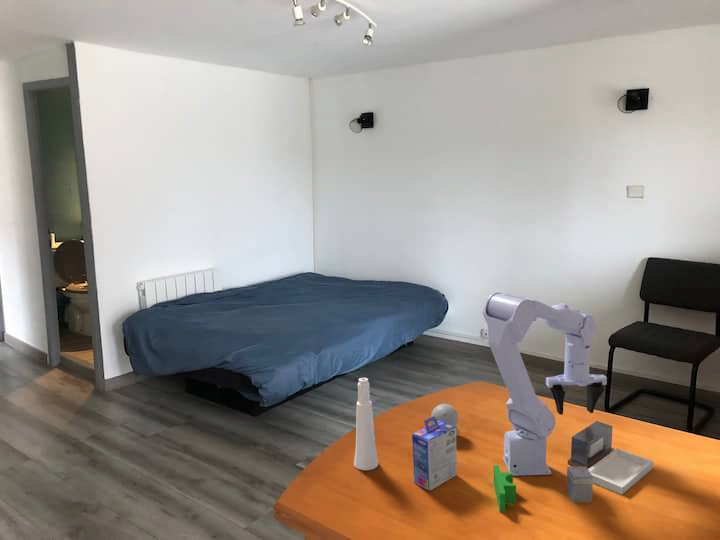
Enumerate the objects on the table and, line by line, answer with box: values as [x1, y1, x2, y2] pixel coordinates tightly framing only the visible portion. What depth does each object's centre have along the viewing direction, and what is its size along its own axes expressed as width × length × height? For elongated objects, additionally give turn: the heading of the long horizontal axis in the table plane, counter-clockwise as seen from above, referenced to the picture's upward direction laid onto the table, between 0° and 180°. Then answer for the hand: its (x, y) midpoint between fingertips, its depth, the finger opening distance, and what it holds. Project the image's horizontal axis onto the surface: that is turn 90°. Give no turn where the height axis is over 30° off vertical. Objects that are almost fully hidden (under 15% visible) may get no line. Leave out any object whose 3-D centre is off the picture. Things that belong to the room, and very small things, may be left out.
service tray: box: [588, 447, 654, 496], centre depth 129 cm, size 16×9×2 cm, turn 130°
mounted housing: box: [567, 420, 615, 469], centre depth 136 cm, size 13×5×7 cm, turn 130°
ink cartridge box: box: [411, 416, 458, 492], centre depth 129 cm, size 10×6×14 cm, turn 131°
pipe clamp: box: [492, 464, 517, 513], centre depth 122 cm, size 11×4×5 cm, turn 173°
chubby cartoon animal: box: [430, 403, 459, 437], centre depth 152 cm, size 7×12×8 cm, turn 0°
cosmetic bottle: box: [353, 377, 379, 471], centre depth 135 cm, size 6×6×22 cm
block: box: [565, 466, 594, 504], centre depth 121 cm, size 4×4×6 cm
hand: (574, 412), depth 140 cm, fingers open, 7 cm apart
